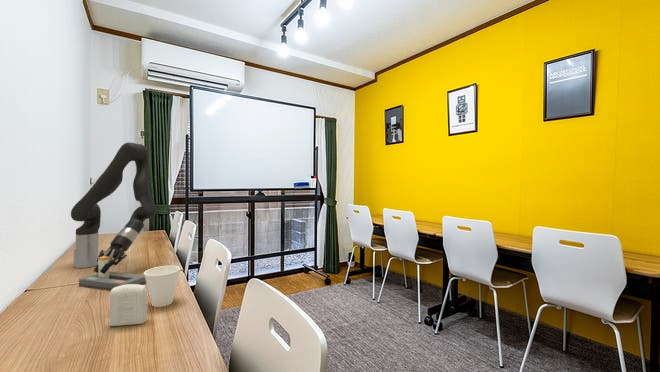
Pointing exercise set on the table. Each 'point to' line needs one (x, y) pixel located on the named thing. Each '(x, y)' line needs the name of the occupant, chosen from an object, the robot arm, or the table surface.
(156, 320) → the table surface
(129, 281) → the slotted lever switch base
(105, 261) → the handle
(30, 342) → the table surface
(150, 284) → the cup
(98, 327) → the table surface
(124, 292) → the photo printer
